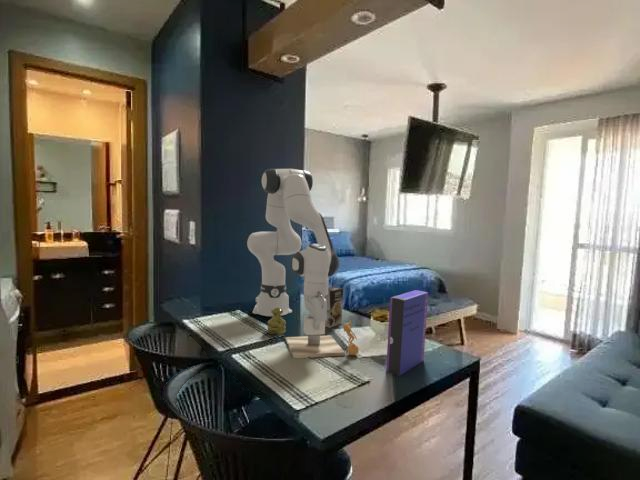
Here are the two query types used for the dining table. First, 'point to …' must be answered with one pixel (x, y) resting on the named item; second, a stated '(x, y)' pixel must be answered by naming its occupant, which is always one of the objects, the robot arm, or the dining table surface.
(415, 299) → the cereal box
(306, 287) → the robot arm
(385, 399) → the dining table surface
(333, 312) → the coffee box
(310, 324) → the keyed cap
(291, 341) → the block
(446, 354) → the dining table surface
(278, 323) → the gold vase
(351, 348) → the figurine
